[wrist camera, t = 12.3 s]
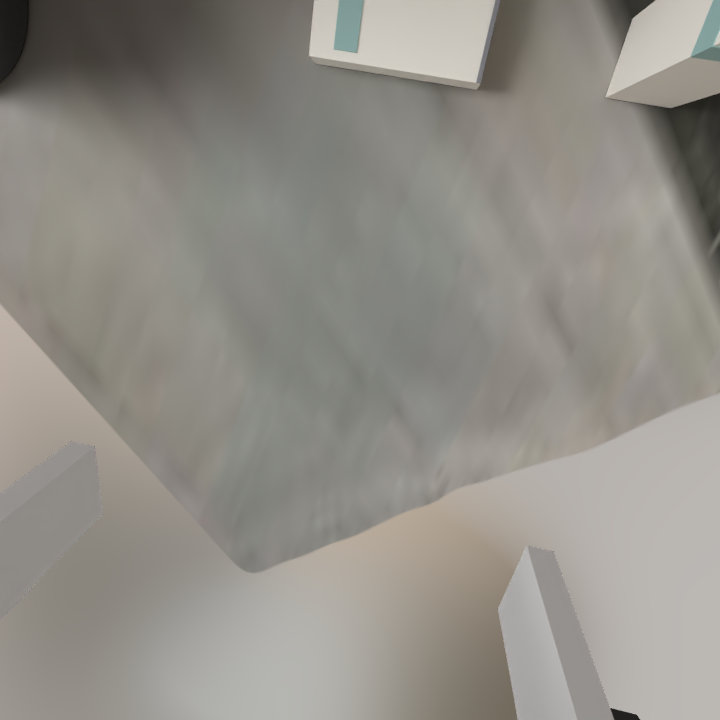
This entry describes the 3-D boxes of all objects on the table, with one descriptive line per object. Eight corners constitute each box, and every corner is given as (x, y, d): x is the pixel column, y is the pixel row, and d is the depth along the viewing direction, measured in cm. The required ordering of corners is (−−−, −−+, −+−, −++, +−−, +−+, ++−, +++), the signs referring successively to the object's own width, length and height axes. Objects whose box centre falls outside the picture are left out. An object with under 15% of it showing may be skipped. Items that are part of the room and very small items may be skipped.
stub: (604, 98, 29) (730, 38, 17) (632, 17, 27) (794, -113, 15) (671, 109, 29) (846, 55, 17) (703, 28, 27) (927, -97, 15)
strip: (315, 63, 31) (308, 55, 29) (325, -42, 28) (318, -58, 26) (476, 89, 30) (480, 83, 28) (501, -16, 27) (507, -31, 25)
